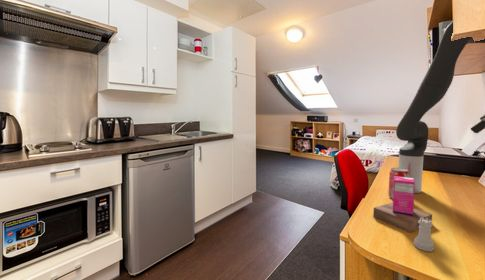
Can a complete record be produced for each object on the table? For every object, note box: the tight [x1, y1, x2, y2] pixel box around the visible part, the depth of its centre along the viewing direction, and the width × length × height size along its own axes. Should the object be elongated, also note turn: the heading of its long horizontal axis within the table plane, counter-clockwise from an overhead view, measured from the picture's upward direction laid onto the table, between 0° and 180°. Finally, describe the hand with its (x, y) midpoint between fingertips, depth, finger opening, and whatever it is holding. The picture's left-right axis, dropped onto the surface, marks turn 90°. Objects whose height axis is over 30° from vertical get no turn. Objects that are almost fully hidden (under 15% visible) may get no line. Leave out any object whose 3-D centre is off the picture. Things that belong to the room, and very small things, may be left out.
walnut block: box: [373, 201, 433, 233], centre depth 76 cm, size 12×12×4 cm
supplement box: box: [392, 176, 415, 216], centre depth 75 cm, size 6×6×12 cm
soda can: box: [388, 167, 410, 200], centre depth 96 cm, size 7×7×13 cm
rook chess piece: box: [413, 218, 435, 253], centre depth 61 cm, size 4×4×8 cm
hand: (480, 132), depth 69 cm, fingers open, 8 cm apart
